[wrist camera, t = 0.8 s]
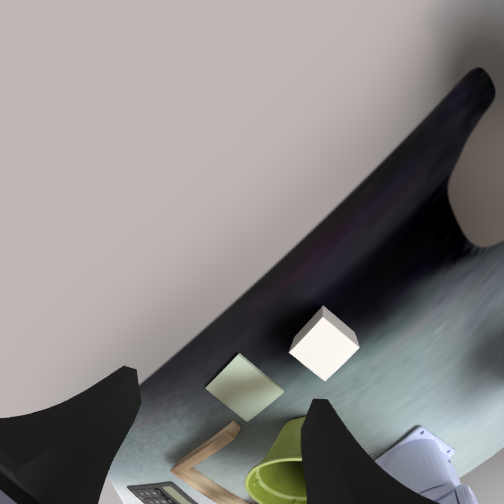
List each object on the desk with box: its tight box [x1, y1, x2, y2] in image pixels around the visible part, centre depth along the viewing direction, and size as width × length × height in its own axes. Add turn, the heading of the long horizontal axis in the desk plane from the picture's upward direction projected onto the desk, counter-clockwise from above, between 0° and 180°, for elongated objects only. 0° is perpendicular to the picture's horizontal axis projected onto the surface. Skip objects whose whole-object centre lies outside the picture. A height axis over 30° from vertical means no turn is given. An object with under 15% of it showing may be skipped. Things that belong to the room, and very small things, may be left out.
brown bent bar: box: [170, 353, 285, 504], centre depth 25 cm, size 19×21×2 cm
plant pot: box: [245, 416, 307, 504], centre depth 20 cm, size 9×9×9 cm
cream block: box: [289, 306, 359, 381], centre depth 22 cm, size 4×4×4 cm
